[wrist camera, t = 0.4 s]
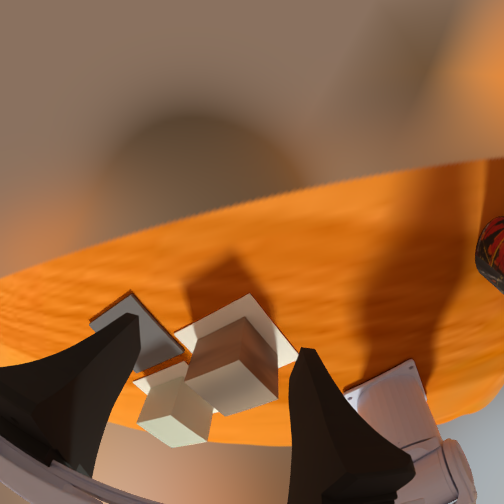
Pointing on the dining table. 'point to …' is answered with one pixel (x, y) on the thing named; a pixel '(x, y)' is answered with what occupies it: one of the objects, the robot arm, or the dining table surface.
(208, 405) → the sage block
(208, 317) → the card
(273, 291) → the dining table surface
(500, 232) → the deodorant
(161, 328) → the coaster
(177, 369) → the card
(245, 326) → the walnut block
